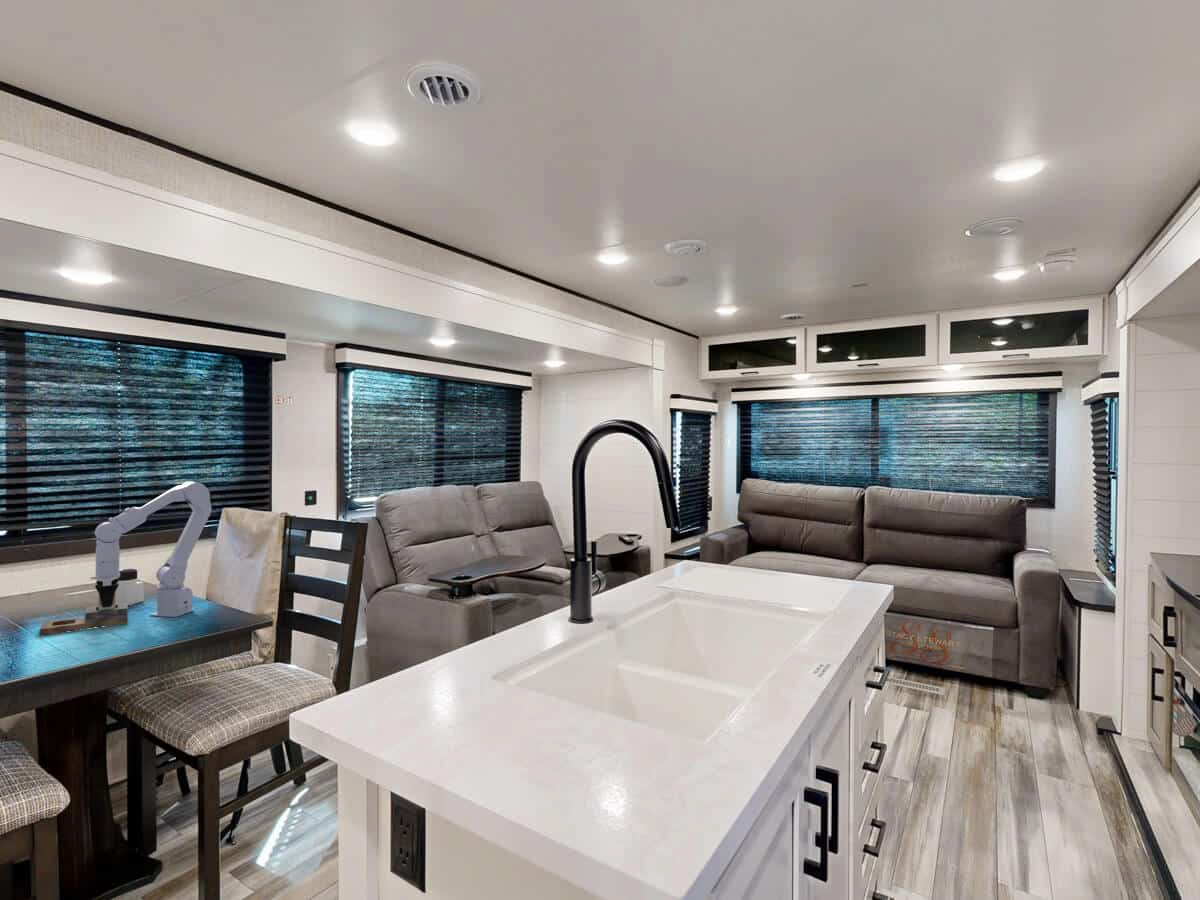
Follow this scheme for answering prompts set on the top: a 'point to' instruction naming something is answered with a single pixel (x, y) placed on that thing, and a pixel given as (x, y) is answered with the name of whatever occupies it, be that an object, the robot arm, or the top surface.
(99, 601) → the plug
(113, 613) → the wooden base
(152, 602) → the top surface
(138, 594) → the medicine bottle
